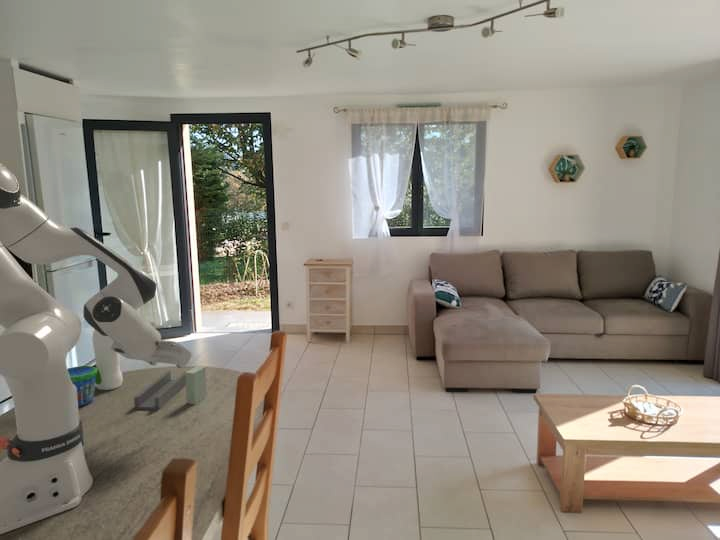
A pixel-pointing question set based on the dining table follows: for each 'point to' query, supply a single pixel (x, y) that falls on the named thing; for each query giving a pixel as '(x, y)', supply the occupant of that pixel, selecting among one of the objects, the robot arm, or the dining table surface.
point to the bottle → (106, 362)
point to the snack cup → (85, 382)
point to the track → (159, 392)
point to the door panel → (195, 384)
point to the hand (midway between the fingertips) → (168, 364)
